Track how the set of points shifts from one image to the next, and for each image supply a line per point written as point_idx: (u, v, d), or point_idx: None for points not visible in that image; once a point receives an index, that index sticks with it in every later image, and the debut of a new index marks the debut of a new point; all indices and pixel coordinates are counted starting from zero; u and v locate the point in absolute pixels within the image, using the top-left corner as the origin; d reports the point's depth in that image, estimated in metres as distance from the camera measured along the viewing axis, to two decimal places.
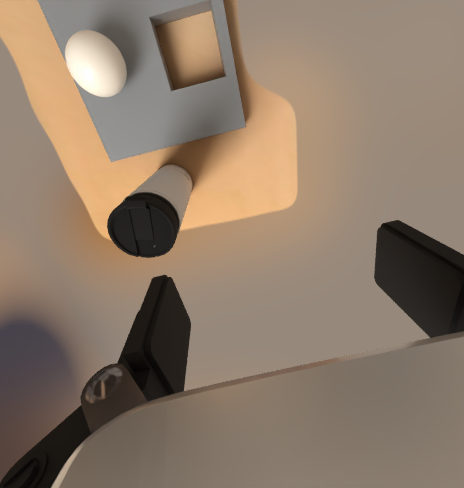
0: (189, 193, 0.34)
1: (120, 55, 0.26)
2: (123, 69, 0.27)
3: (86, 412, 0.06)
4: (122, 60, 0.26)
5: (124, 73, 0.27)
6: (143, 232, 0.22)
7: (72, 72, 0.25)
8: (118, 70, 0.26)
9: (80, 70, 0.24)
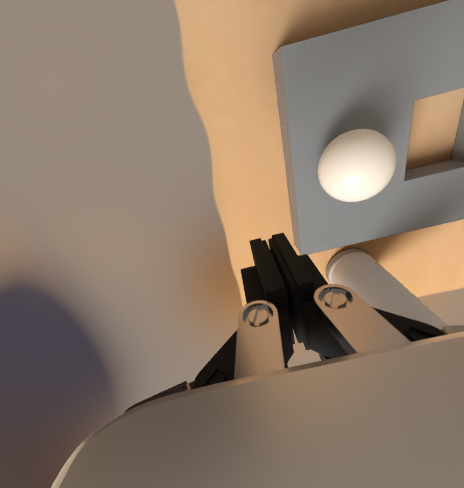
0: None
1: None
2: None
3: (255, 332, 0.07)
4: None
5: None
6: None
7: (339, 183, 0.19)
8: None
9: (359, 185, 0.18)
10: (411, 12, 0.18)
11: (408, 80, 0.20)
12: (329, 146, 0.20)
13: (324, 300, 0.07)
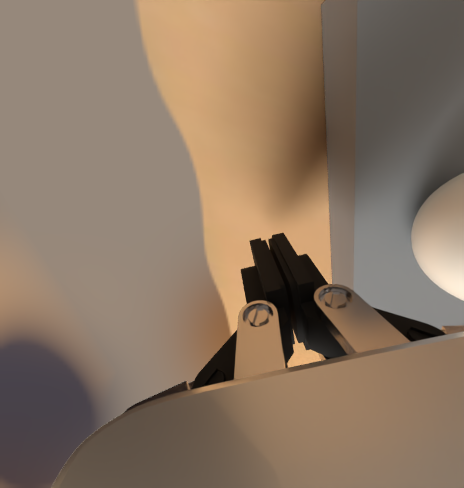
0: None
1: None
2: None
3: (255, 332, 0.07)
4: None
5: None
6: None
7: None
8: None
9: None
10: None
11: None
12: (460, 196, 0.09)
13: (324, 300, 0.07)
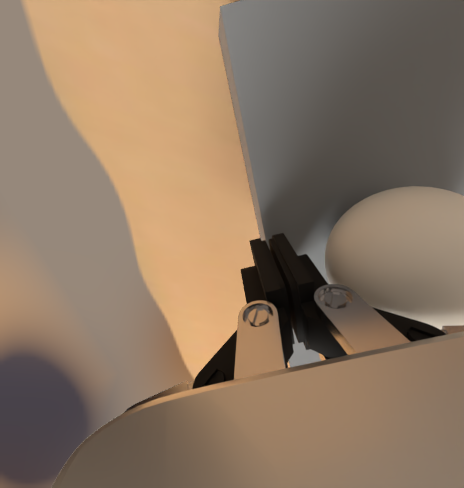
0: None
1: None
2: None
3: (255, 332, 0.07)
4: None
5: None
6: None
7: None
8: None
9: None
10: None
11: None
12: (353, 225, 0.09)
13: (324, 300, 0.07)
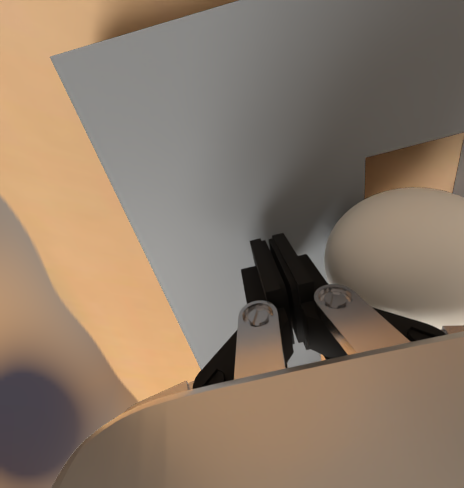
0: None
1: None
2: None
3: (255, 332, 0.07)
4: None
5: None
6: None
7: None
8: None
9: None
10: None
11: (349, 121, 0.10)
12: (366, 234, 0.08)
13: (324, 300, 0.07)
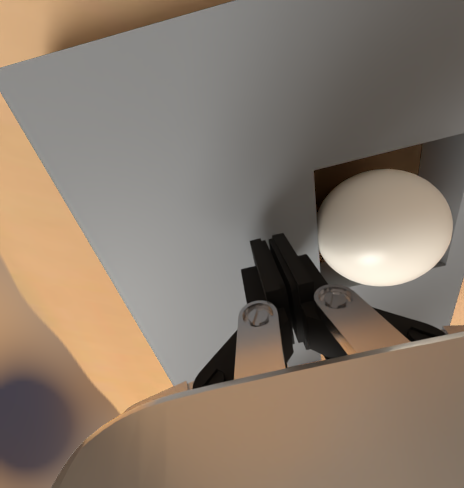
0: None
1: None
2: None
3: (255, 332, 0.07)
4: None
5: None
6: None
7: (448, 245, 0.11)
8: None
9: None
10: None
11: (294, 135, 0.10)
12: (407, 201, 0.10)
13: (324, 300, 0.07)
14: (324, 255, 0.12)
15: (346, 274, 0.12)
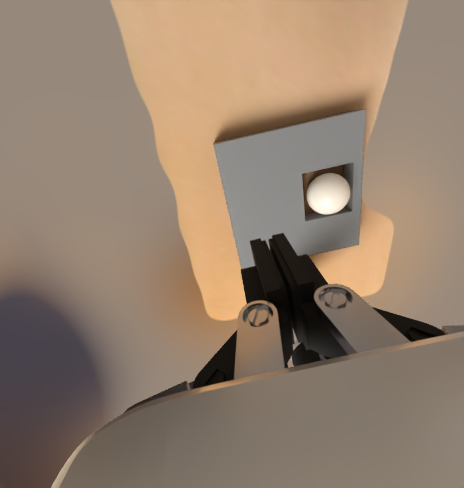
0: None
1: None
2: None
3: (255, 332, 0.07)
4: None
5: None
6: None
7: (349, 196, 0.34)
8: None
9: None
10: (290, 127, 0.30)
11: (296, 162, 0.33)
12: (336, 182, 0.32)
13: (324, 300, 0.07)
14: (312, 204, 0.34)
15: (320, 209, 0.34)
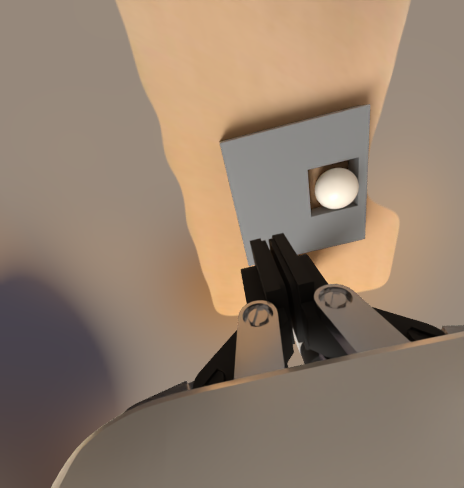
0: None
1: None
2: None
3: (255, 332, 0.07)
4: None
5: None
6: None
7: None
8: None
9: None
10: (295, 124, 0.31)
11: (301, 159, 0.33)
12: (346, 175, 0.32)
13: (324, 300, 0.07)
14: (322, 199, 0.34)
15: (331, 204, 0.34)
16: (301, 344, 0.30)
